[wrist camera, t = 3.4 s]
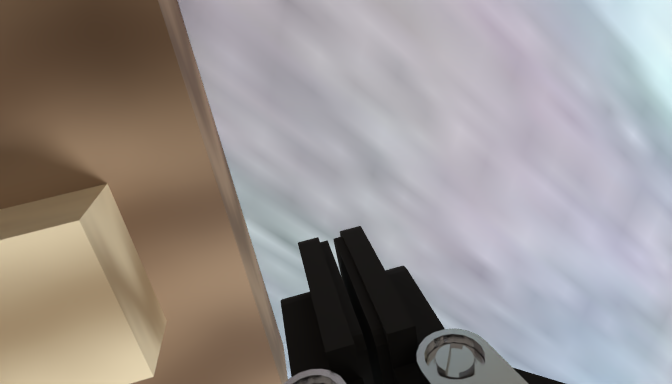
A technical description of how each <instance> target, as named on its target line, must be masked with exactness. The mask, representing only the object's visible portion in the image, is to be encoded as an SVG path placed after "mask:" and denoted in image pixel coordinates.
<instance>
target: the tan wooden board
mask: <svg viewBox="0 0 672 384" xmlns="http://www.w3.org/2000/svg"><path fill="white" fill-rule="evenodd" d="M107 183H108V186H109V188H110V190H111V193H112V195H113V197H114V200H115V202H116V204H117V207H118V209H119V211H120V214H121V216H122V218H123V221H124V223H125V225H126V228H127V230H128V232H129V235H130V237H131V239H132V242H133V244H134V246H135V248H136V251H137V253H138V255H139V258H140V260H141V262H142V265H143V267H144V269H145V272H146V274H147V276H148V279H149V281H150V283H151V286H152V288H153V290H154V293H155V295H156V297H157V300H158V302H159V304H160V307H161V309H162V311H163V313H164V316H165V318H166V320H167V322H166V326H165V330H164V335H163V339H162V343H161V347H160V352H159V356H158V360H157V365H156V369H155V373H154V377H151V378H148V379H145V380H141V381H138V382H134V383H131V384H284V383H285V382H286V381H287V380H288V378H287V370H286V363H285V355H284V348H283V343H282V340H281V337H280V333H279V330H278V327H277V324H276V320H275V317H274V314H273V311H272V307H271V304H270V301H269V298H268V294H267V291H266V288H265V285H264V281H263V278H262V275H261V272H260V268H259V265H258V262H257V259H256V255H255V252H254V249H253V246H252V242H251V239H250V236H249V233H248V229H247V226H246V223H245V220H244V216H243V213H242V210H241V207H240V203H239V200H238V197H237V194H236V190H235V187H234V184H233V181H232V177H231V174H230V171H229V168H228V164H227V161H226V158H225V155H224V151H223V148H222V145H221V142H220V138H219V135H218V132H217V129H216V125H215V122H214V119H213V116H212V112H211V109H210V106H209V103H208V99H207V96H206V93H205V90H204V86H203V83H202V80H201V77H200V73H199V70H198V67H197V64H196V60H195V57H194V54H193V51H192V47H191V44H190V41H189V38H188V34H187V31H186V28H185V25H184V21H183V18H182V15H181V12H180V8H179V5H178V2H177V0H0V209H5V208H9V207H13V206H17V205H21V204H25V203H29V202H33V201H38V200H42V199H46V198H50V197H54V196H58V195H62V194H66V193H70V192H75V191H79V190H83V189H87V188H91V187H95V186H99V185H103V184H107Z"/></svg>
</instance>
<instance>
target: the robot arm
mask: <svg viewBox="0 0 672 384" xmlns="http://www.w3.org/2000/svg"><path fill="white" fill-rule="evenodd" d="M340 236H341V237H339V238H335V239H334V244H335V249H336V253H337V258H338V263H339V267H340V272H341V275H340V272H339V270H338V267H337V264H336V262H335V259H334V256H333V254H332V251H331V248H330V246H329V243H328V241H324V242H320V241H319V239H318V237H317V238H314V239H310V240H306V241H302V242H299V243H298V245H299V249H300V253H301V257H302V261H303V265H304V269H305V273H306V277H307V281H308V285H309V289H310V292H307V293H304V294H300V295H297V296H293V297H289V298H286V299H282V300H281V307H282V314H283V321H284V328H285V335H286V342H287V348H288V355H289V362H290V369H291V376H292V377H291V378H289V379H288V380H287V381H286V382H285V383H284V384H565V383H562V382H558V381H555V380H552V379H548V378H545V377H542V376H539V375H535V374H532V373H529V372H525V371H522V370H519V369H516V368H512V367H511V366H510V365H509V364H508V363H507V362H506V361H505V360H504V359H503V358H502V357H501V356H500V355H499V354H498V353H497V352H496V351H495V350H494V349H493V348H492V347H491V346H490V345H489V344H488V343H487V342H486V341H485V340H484V339H483V338H481V337H480V336H479V335H477V334H475V333H472V332H470V331H467V330H462V329H444V327H443V325H442V324H441V322H440V321H439V319H438V318H437V316H436V314H435V313H434V311H433V310H432V308H431V306H430V305H429V303H428V302H427V300H426V299H425V297H424V295H423V294H422V292H421V291H420V289H419V287H418V286H417V284H416V283H415V281H414V280H413V278H412V276H411V275H410V273H409V272H408V270H407V269H406V267H405V266H400V267H396V268H393V269H389V270H386V271H385V270H384V268H383V266H382V264H381V262H380V260H379V259H378V257H377V255H376V253H375V251H374V249H373V248H372V246H371V244H370V242H369V240H368V239H367V237H366V235H365V233H364V231H363V229H362V228H361V226H358V227H355V228H351V229H347V230H343V231H340ZM341 276H342V277H341Z"/></svg>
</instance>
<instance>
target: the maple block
mask: <svg viewBox="0 0 672 384" xmlns="http://www.w3.org/2000/svg"><path fill="white" fill-rule="evenodd" d="M166 322H167V320H166V318H165V316H164V313H163V311H162V309H161V307H160V304H159V302H158V300H157V297H156V295H155V293H154V290H153V288H152V286H151V283H150V281H149V279H148V276H147V274H146V272H145V269H144V267H143V265H142V262H141V260H140V258H139V255H138V253H137V251H136V248H135V246H134V244H133V242H132V239H131V237H130V235H129V232H128V230H127V228H126V225H125V223H124V221H123V218H122V216H121V214H120V211H119V209H118V207H117V204H116V202H115V200H114V197H113V195H112V193H111V190H110V188H109V186H108V183H107V184H103V185H99V186H95V187H91V188H87V189H83V190H79V191H75V192H70V193H66V194H62V195H58V196H54V197H50V198H46V199H42V200H38V201H33V202H29V203H25V204H21V205H17V206H13V207H9V208H5V209H0V384H131V383H134V382H138V381H141V380H145V379H148V378H151V377H154V373H155V369H156V365H157V360H158V356H159V352H160V347H161V343H162V339H163V335H164V330H165V326H166Z"/></svg>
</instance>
